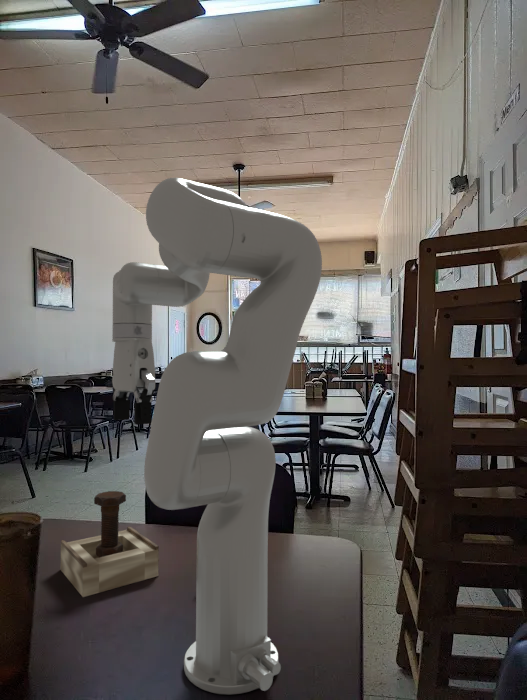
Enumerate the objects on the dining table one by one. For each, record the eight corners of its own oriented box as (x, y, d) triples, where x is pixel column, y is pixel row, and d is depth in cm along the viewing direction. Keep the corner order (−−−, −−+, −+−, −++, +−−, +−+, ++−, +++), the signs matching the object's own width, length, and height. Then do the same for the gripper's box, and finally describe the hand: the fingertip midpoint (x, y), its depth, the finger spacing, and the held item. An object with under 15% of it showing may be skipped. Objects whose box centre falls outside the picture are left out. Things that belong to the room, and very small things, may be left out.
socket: (158, 575, 92) (158, 546, 92) (82, 597, 84) (83, 564, 84) (129, 552, 103) (129, 526, 103) (60, 569, 95) (60, 540, 95)
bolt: (113, 581, 90) (115, 499, 90) (89, 578, 91) (90, 497, 91) (128, 568, 96) (129, 491, 96) (104, 566, 97) (105, 489, 97)
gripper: (170, 332, 91) (170, 424, 91) (131, 337, 105) (131, 417, 104) (133, 330, 87) (132, 427, 86) (97, 336, 100) (96, 419, 99)
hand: (131, 421), depth 95 cm, fingers open, 9 cm apart
